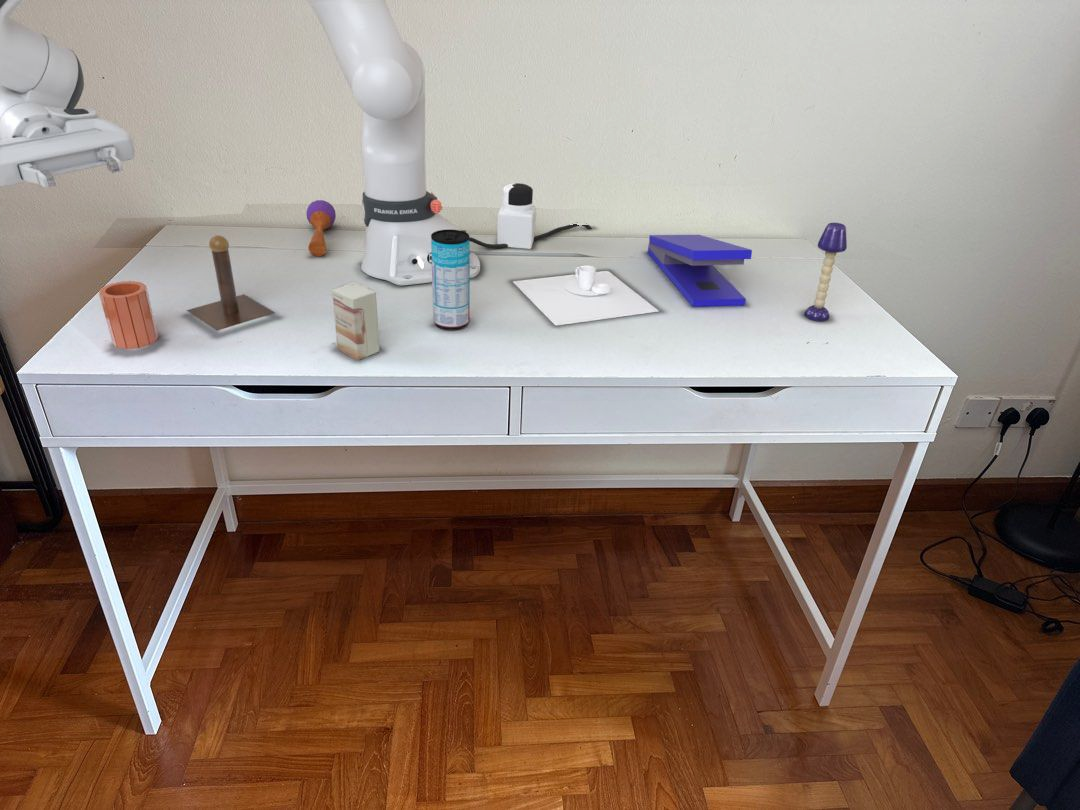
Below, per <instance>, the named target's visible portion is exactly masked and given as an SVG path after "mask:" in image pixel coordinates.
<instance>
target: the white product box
mask: <svg viewBox="0 0 1080 810" xmlns="http://www.w3.org/2000/svg"><path fill="white" fill-rule="evenodd" d="M331 292H332V303H333V314H334V315H333V316H334V325H335V326H334V327H335V337H336V348H337V350H338V351H339V352H341V353H343V354H344V355H346V356H348V357H350V358H352V359H354V360H356V361H360V360H362V359H365V358H367V357H370V356H372V355H374V354H377V353H379V352H380V339H379V338H380V337H379V336H380V335H379V322H378V305H377V304H378V303H377V291H376V290H374V289H372V288H370V287H369V286H366V285H364V284H361V283H359V282H356V281H351V282H348V283H346V284H345V283H344V284H343V285H339V286H337V287H334V288H332V289H331Z"/></svg>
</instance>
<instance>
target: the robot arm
mask: <svg viewBox="0 0 1080 810" xmlns="http://www.w3.org/2000/svg"><path fill="white" fill-rule="evenodd" d="M307 1H308V4H309V5H310V6H311V9H312V10H313V12H314V14H315V15H316V17H317V19H318V21H319V24H321V27H322V30H323V32H324V33H325V35H326V38H327V39H328V43H329V44H330V47H331V50H332V51H333V55H334V56H335V59H336V62H337V63H338V65H339V67H340V70H341V72H342V73H343V76H344V79H345V80H346V83H347V84H348V86H349V88H350V90H351V93H352V94H353V98H354V100H355V102H356V103H357V105H358V107H359V108H360V109H361V115H362V118H361V145H360V146H361V161H362V176H363V177H362V178H363V187H364V188H363V190H364V191H363V192H362V199H361V206H362V207H361V209H362V219H363V221H364V225H365V236H364V238H365V240H364V250H363V256H362V261H361V265H360V269H361V271H362V272H363V273H364V274H366V275H368V276H370V277H372V278H375V279H379V280H383V281H387V282H390V283H392V284H393V285H397V286H402V287H403V286H412V285H421V284H427V283H428V284H429V283H430V284H431V283H432V254H431V234H432V233H434V232H436V231H439V230H448V229H451V230H460V231H464V232H466V233H467V230H465V229H460V227H458V226H457V225H455V224H454V223H453V222H452V221H450V220H449V219H447V218H446V217H444V216H443V215H442V214H441V212H442V211H443V205H442V203H441V201H440V200H439V199H438V197H437V196H435V194H434V193H433V191H432V192H429V191H428V190H427V175H426V174H427V173H426V72H425V66H424V62H423V59H422V57H421V55H420V54H419V53H418V52H417V50H416V49H415V48H414V47H413V46H411V45H410V44H409V43H408V42H406V41H404V40H403V39H402V36H401V34H400V31H399V30H398V27H397V25H396V23H395V20H394V18H393V16H392V13H391V10H390V8H389V6H388V4H387V1H386V0H307ZM24 2H25V0H0V187H2V188H3V187H10V186H14V185H19V184H23V183H30V184H35V185H40V186H41V187H42V188H44V189H47V188H52V187H55V186H57V184H56V183H57V182H56V181H55V177H56V176H60V175H65V174H69V173H74V172H79V171H84V170H89V169H92V168H98V167H101V166H103V167H104V166H106V169H107V170H108V171H109V172H110V173H112V174H114V173H118V172H122V171H123V170H124V169H123V166H122V162H125V161H131V160H133V159H134V157H135V155H136V150H135V145H134V139H133V138H132V135H130V133H129V132H128V131H126V130H125V129H124V128H123V127H121V126H119V125H118V124H116V123H115V122H113V121H111V120H109V119H106V118H102V117H99V115H98V112H97V111H96V110H95V109H92V108H76V106H77V105H78V104H79V101H80V100H81V97H82V94H83V93H84V92H83V91H84V88H85V79H84V73H83V69H82V65H81V63H80V60H79V57H78V56H77V54H76V53H75V52H74V50H72V49H70V48H68V47H66V46H64V45H63V44H61V43H60V42H57V41H56V40H54V39H53V38H50V37H48V36H46V35H45V34H42V33H40V32H38V31H37V30H34V29H33V28H30V27H29V26H27V25H25V24H23V23H21V22H19V21H17V20H15V19H14V18H13V17H10V16H11V15H12V14H14V12H15V11H16V10H17V9H18V8H19V7H20V6H21V5H22V4H23V3H24ZM572 224H573V223H572ZM576 227H580V226H579V225H577V224H573V225H570V224H567V225H563V226H559V227H556V228H554V229H552V230H550V231H547V232H544V233H541V234H539V235H535V237H534V240H533V242H536V241H538V240H539V241H540V240H543V239H545V238H548V237H551V236H552V235H555V234H556V233H559V232H562V231H566V230H570V229H574V228H576ZM581 227H584V228H586V229H587V230H592V226H591V225H589V224H588V225H582V226H581ZM469 243H473V244H475V245H478V246H480V247H482V248H486V249H504V248H505V249H506V248H509V247H508V245H507V244H497V243H495V244H493V243H486V242H483V241H481V240H479V239H477V238H474V237H472V236H469ZM480 272H481V262H480V259H479V257H478V255H476V253H475V252H473V251H472V250H470V279H473V278H476V277H477V276H478V275H479V274H480Z"/></svg>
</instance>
